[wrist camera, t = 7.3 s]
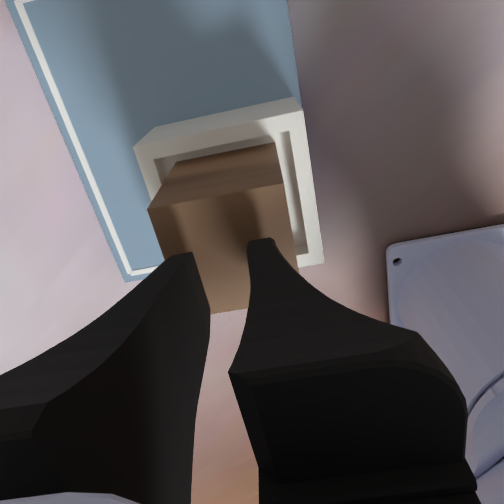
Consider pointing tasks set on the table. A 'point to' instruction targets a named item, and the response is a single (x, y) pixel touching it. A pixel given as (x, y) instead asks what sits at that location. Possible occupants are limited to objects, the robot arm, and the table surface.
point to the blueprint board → (168, 102)
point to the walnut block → (224, 217)
